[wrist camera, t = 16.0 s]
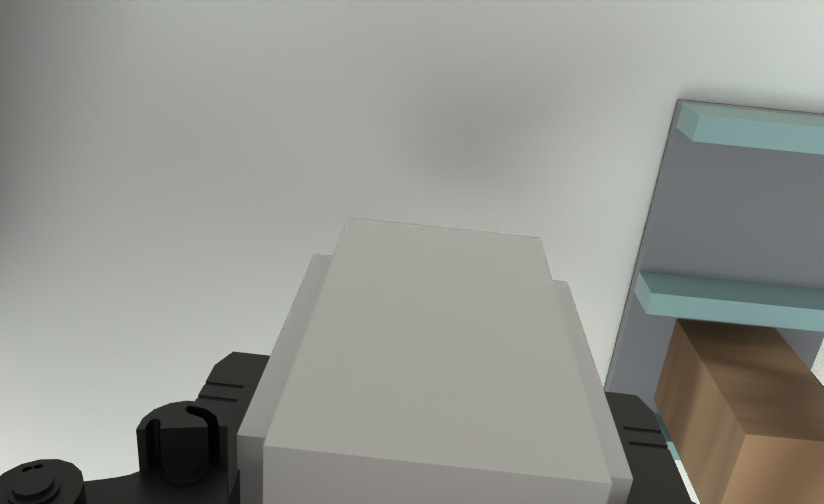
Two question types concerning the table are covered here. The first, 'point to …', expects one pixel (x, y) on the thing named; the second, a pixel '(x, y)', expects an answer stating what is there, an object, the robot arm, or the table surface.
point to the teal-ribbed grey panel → (728, 238)
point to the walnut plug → (743, 414)
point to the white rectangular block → (434, 379)
